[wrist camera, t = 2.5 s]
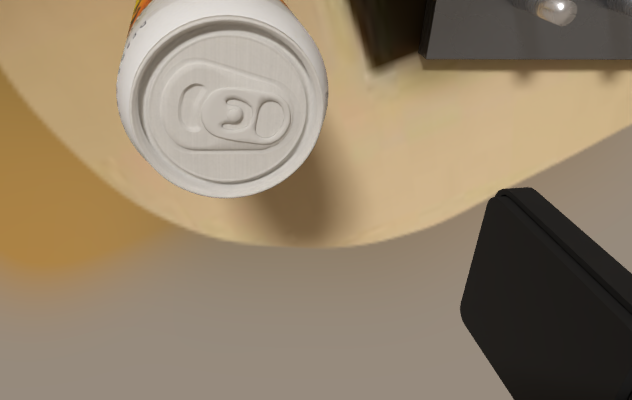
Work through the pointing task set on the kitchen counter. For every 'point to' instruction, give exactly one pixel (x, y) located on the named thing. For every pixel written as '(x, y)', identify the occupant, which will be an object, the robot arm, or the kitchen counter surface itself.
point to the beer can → (221, 93)
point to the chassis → (527, 29)
